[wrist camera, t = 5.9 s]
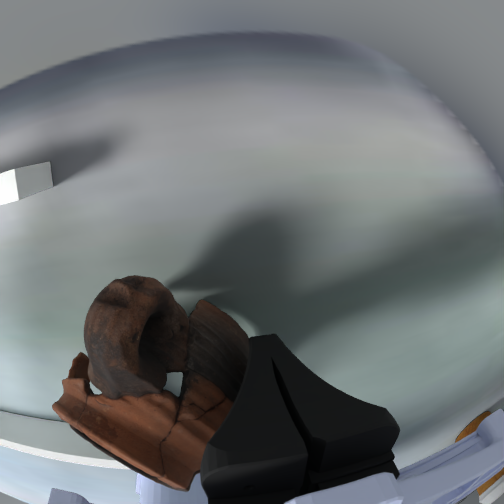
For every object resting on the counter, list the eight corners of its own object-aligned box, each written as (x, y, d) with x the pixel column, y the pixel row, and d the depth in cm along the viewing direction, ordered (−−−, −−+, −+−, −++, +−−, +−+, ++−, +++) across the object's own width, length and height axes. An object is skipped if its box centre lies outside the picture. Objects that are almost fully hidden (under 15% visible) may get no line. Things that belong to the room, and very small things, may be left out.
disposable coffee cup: (496, 415, 28) (535, 464, 17) (448, 456, 29) (481, 510, 18) (499, 391, 25) (548, 448, 13) (442, 441, 26) (484, 507, 14)
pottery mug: (269, 395, 18) (222, 510, 12) (144, 354, 20) (86, 443, 14) (273, 232, 11) (150, 459, 4) (86, 206, 13) (-37, 314, 7)
